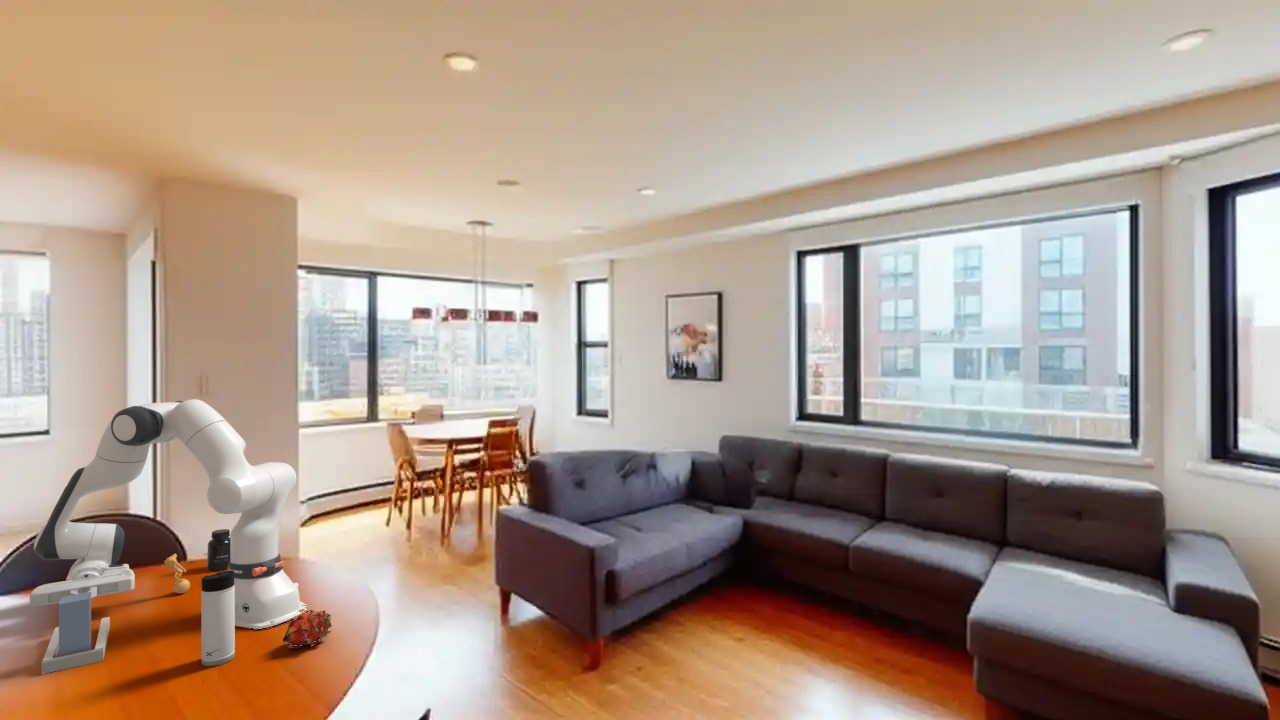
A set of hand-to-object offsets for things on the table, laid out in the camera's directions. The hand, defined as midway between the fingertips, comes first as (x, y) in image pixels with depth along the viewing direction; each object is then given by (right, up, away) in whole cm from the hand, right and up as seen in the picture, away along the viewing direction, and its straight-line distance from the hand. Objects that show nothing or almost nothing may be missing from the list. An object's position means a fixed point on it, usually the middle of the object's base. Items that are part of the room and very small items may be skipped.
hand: (82, 598), depth 154 cm
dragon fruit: (+60, -9, -7) cm, 61 cm away
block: (+12, -8, -15) cm, 21 cm away
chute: (+8, -8, -9) cm, 14 cm away
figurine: (+7, -8, +23) cm, 25 cm away
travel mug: (+44, -8, -15) cm, 47 cm away
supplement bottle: (+5, -7, +44) cm, 45 cm away
